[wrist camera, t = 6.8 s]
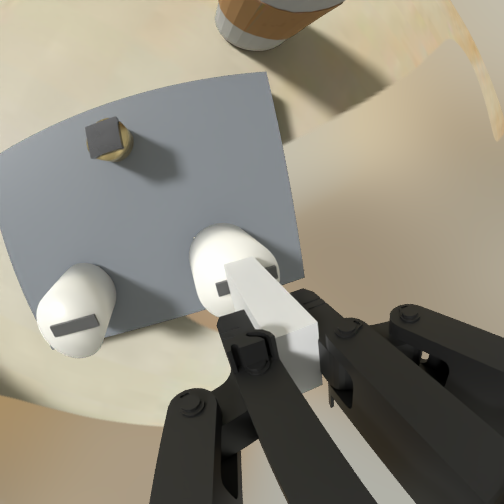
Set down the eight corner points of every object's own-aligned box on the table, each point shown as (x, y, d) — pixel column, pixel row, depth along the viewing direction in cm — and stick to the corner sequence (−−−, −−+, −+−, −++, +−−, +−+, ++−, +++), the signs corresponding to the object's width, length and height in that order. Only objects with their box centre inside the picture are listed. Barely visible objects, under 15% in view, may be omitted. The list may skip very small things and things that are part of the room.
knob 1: (84, 308, 20) (57, 365, 13) (65, 260, 19) (23, 302, 11) (129, 295, 21) (116, 352, 14) (111, 244, 19) (83, 283, 12)
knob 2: (195, 278, 22) (209, 332, 14) (179, 225, 20) (185, 255, 13) (248, 263, 22) (286, 306, 15) (236, 209, 21) (273, 230, 14)
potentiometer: (103, 166, 16) (86, 165, 12) (96, 133, 15) (79, 124, 11) (137, 155, 16) (128, 151, 13) (129, 121, 15) (120, 109, 12)
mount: (62, 331, 20) (52, 349, 18) (4, 161, 15) (-14, 161, 12) (289, 265, 25) (304, 277, 22) (253, 83, 20) (266, 71, 17)
